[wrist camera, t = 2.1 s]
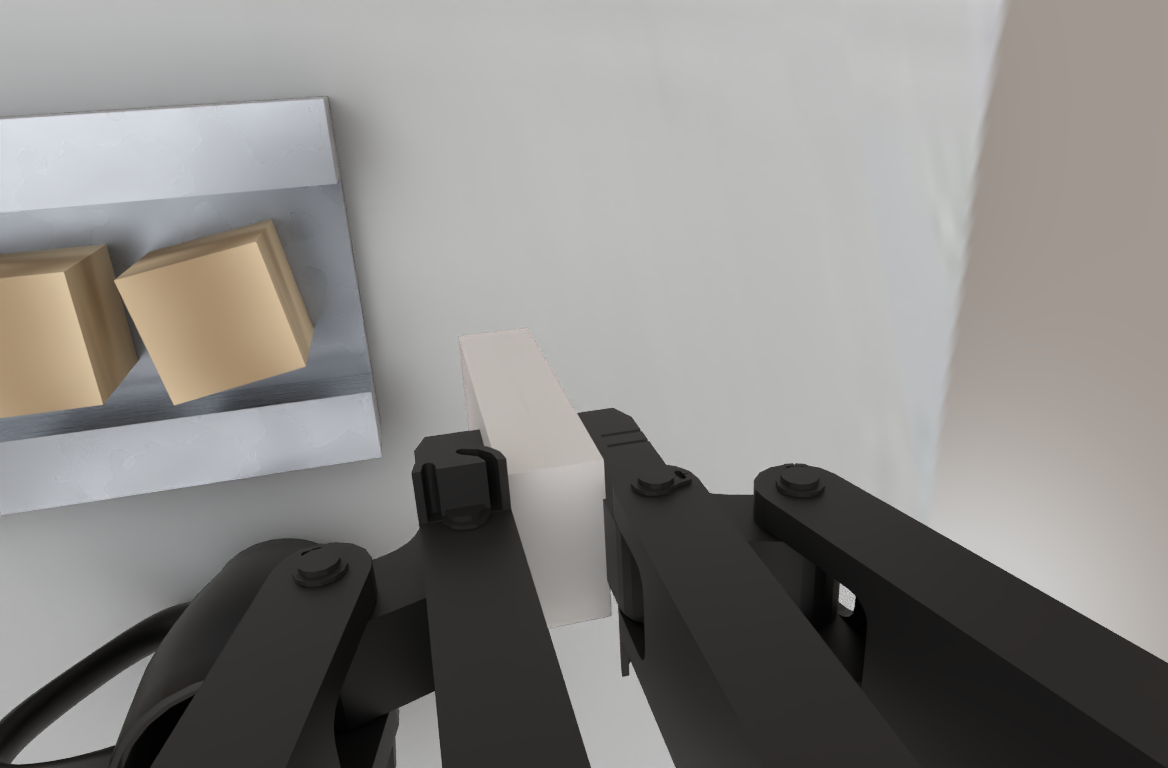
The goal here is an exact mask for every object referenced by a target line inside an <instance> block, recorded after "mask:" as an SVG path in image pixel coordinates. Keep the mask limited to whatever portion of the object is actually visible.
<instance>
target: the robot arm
mask: <svg viewBox="0 0 1168 768" xmlns="http://www.w3.org/2000/svg"><path fill="white" fill-rule="evenodd" d="M458 337H459V346H460V354H461V363H462V372H463V380H464V389H465V397H466V406H467V414H468V423H469V431H464V432H457V433H450V434H444V435H437V436H430V437H425V438H424V439H423V440H422V442H421V443H420V444H419V446H418V447H417V448H416V450H415V451H414V453H415V464H414V467H413V470H412V480H413V486H414V493H415V500H416V506H417V513H418V520H419V527H420V528H419V530H418V532H417V534H416V535H415V536H414V537H413V538H412V539H411V540H410V541H409V542H408V543H407V544H405V545H404V546H402V547H401V548H399V549H398V550H396V551H394V552H391V553H389V554H387V555H385V556H382V557H379V558H377V559H374V560H372V557H371V556H370V555H369V553H368V552H367V551H366V549H364V548H362V547H359V546H357V545H354V544H350V543H336V542H335V543H328V544H318V545H314V546H310V547H309V548H308V547H307V548H305V549H302V550H300V551H298V552H296V553H294V554H293V555H291V556H289V557H287V558H286V559H284V560H282V561H281V562H280V563H279V564H278V565H277V566H276V567H275V568H274V569H273V570H272V572H271V573H270V574H269V576H268V578H267V579H266V581H265V582H264V584H263V586H262V587H261V589H260V591H259V592H258V594H257V595H256V597H255V599H254V600H253V602H252V603H251V605H250V607H249V608H248V610H247V612H246V613H245V615H244V616H243V618H242V620H241V621H240V623H239V625H238V626H237V628H236V629H235V631H234V633H233V634H232V636H231V637H230V639H229V641H228V642H227V644H226V646H225V647H224V649H223V650H222V652H221V654H220V655H219V657H218V659H217V660H216V662H215V663H214V665H213V667H212V668H211V670H210V672H209V673H208V675H207V676H206V678H205V680H204V681H203V683H202V684H201V686H200V688H199V689H198V691H197V693H196V694H195V696H194V697H193V699H192V701H191V702H190V704H189V706H188V707H187V709H186V710H185V712H184V714H183V715H182V717H181V718H180V720H179V722H178V723H177V725H176V727H175V728H174V730H173V731H172V733H171V735H170V736H169V738H168V740H167V741H166V743H165V744H164V746H163V748H162V749H161V751H160V753H159V754H158V756H157V757H156V759H155V761H154V762H153V764H152V765H151V767H150V768H386V767H387V764H388V760H389V757H390V753H391V750H392V746H393V743H394V739H395V736H396V732H397V729H398V725H399V707H401V706H403V705H406V704H408V703H410V702H412V701H414V700H416V699H418V698H421V697H423V696H425V695H427V694H429V693H431V692H433V691H435V696H436V707H437V717H438V728H439V738H440V749H441V759H442V768H591V766H590V763H589V760H588V757H587V753H586V750H585V747H584V744H583V740H582V737H581V734H580V731H579V727H578V724H577V721H576V718H575V714H574V711H573V708H572V705H571V701H570V698H569V695H568V692H567V688H566V685H565V682H564V679H563V675H562V672H561V669H560V666H559V662H558V659H557V656H556V653H555V649H554V646H553V643H552V640H551V636H550V633H549V630H548V628H553V627H558V626H563V625H569V624H574V623H579V622H584V621H589V620H594V619H599V618H604V617H609V616H612V613H611V593H610V588H611V590H612V592H613V595H614V597H615V599H616V601H617V604H618V611H619V633H620V655H621V670H622V677H623V676H628V675H629V663H630V662H631V663H632V665H633V667H634V670H635V672H636V674H637V677H638V679H639V682H640V684H641V686H642V689H643V691H644V693H645V696H646V698H647V700H648V703H649V705H650V708H651V710H652V712H653V715H654V717H655V719H656V722H657V724H658V727H659V729H660V731H661V734H662V736H663V738H664V741H665V743H666V746H667V748H668V750H669V753H670V755H671V757H672V760H673V762H674V765H675V767H676V768H1168V663H1167V662H1165V661H1163V660H1162V659H1160V658H1158V657H1156V656H1154V655H1153V654H1151V653H1149V652H1147V651H1146V650H1144V649H1142V648H1140V647H1139V646H1137V645H1135V644H1133V643H1132V642H1130V641H1128V640H1126V639H1125V638H1123V637H1121V636H1119V635H1117V634H1116V633H1114V632H1112V631H1110V630H1109V629H1107V628H1105V627H1103V626H1102V625H1100V624H1098V623H1096V622H1094V621H1093V620H1091V619H1089V618H1088V617H1086V616H1084V615H1082V614H1080V613H1079V612H1077V611H1075V610H1073V609H1072V608H1070V607H1068V606H1066V605H1065V604H1063V603H1061V602H1059V601H1057V600H1056V599H1054V598H1052V597H1050V596H1049V595H1047V594H1045V593H1043V592H1042V591H1040V590H1038V589H1036V588H1034V587H1033V586H1031V585H1029V584H1027V583H1026V582H1024V581H1022V580H1021V579H1019V578H1017V577H1015V576H1013V575H1012V574H1010V573H1008V572H1007V571H1004V570H1003V569H1001V568H1000V567H998V566H996V565H994V564H992V563H991V562H989V561H987V560H985V559H983V558H982V557H980V556H978V555H977V554H975V553H973V552H971V551H970V550H968V549H966V548H964V547H963V546H961V545H959V544H957V543H955V542H954V541H952V540H950V539H948V538H947V537H945V536H943V535H941V534H940V533H938V532H936V531H934V530H933V529H931V528H929V527H927V526H926V525H924V524H922V523H920V522H918V521H917V520H915V519H913V518H911V517H910V516H908V515H906V514H904V513H903V512H901V511H899V510H897V509H896V508H894V507H892V506H890V505H889V504H887V503H885V502H883V501H882V500H880V499H878V498H876V497H874V496H873V495H871V494H869V493H867V492H866V491H864V490H862V489H860V488H859V487H857V486H855V485H853V484H852V483H850V482H848V481H846V480H845V479H843V478H841V477H839V476H837V475H836V474H834V473H831V472H829V471H827V470H824V469H822V468H818V467H813V466H808V465H806V464H798V463H795V465H794V464H793V463H792V464H784V465H781V466H775V467H770V468H768V469H766V470H764V471H762V472H760V473H759V474H758V476H757V477H756V478H755V480H754V495H724V494H712V493H709V492H708V490H707V489H706V488H705V486H704V485H703V484H702V483H701V481H700V480H699V479H698V478H697V477H696V476H695V475H694V474H692V473H691V472H690V471H688V470H685V469H682V468H679V467H676V466H670V465H666V464H665V463H664V461H663V460H662V458H661V457H660V456H659V454H658V453H657V452H656V450H655V449H654V447H653V446H652V445H651V443H650V442H649V441H647V438H646V436H645V435H644V434H643V432H642V431H640V428H639V427H638V425H637V424H636V423H635V421H634V420H633V418H632V417H630V416H628V415H626V414H624V413H622V412H620V411H618V410H616V409H614V408H608V409H602V410H595V411H588V412H581V413H577V412H576V411H575V409H574V407H573V406H572V404H571V402H570V400H569V399H568V397H567V395H566V393H565V392H564V390H563V388H562V386H561V385H560V383H559V381H558V380H557V378H556V376H555V374H554V373H553V371H552V369H551V367H550V366H549V364H548V362H547V360H546V359H545V357H544V355H543V353H542V352H541V350H540V348H539V347H538V345H537V343H536V341H535V340H534V338H533V336H532V334H531V333H530V331H529V329H528V328H521V329H513V330H505V331H496V332H488V333H480V334H472V335H464V336H458ZM840 583H841V584H842V585H844V586H845V587H846V588H848V589H849V590H850V591H851V592H852V593H853V594H854V595H855V596H856V599H855V608H854V611H851V610H849V609H847V608H846V607H845V606H843V605H842V604H841V603H839V602H838V599H839V586H840Z"/></svg>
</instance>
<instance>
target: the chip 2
mask: <svg viewBox="0 0 1168 768" xmlns="http://www.w3.org/2000/svg"><path fill="white" fill-rule="evenodd" d="M114 282H115V284H116V286H117V288H118V290H119V292H120V294H121V296H122V299H123V301H124V303H125V305H126V307H127V309H128V311H129V313H130V315H131V317H132V319H133V321H134V323H135V326H136V328H137V330H138V332H139V334H140V336H141V338H142V340H143V342H144V344H145V346H146V348H147V350H148V353H149V355H150V357H151V359H152V361H153V363H154V365H155V367H156V369H157V371H158V373H159V375H160V377H161V380H162V382H163V384H164V386H165V388H166V390H167V392H168V394H169V396H170V398H171V400H172V402H173V404H174V405H177V404H181V403H184V402H188V401H191V400H194V399H198V398H201V397H204V396H208V395H211V394H215V393H218V392H221V391H225V390H228V389H232V388H235V387H238V386H242V385H245V384H248V383H252V382H255V381H259V380H262V379H265V378H269V377H272V376H275V375H279V374H282V373H286V372H289V371H292V370H296V369H299V368H302V367H306V364H307V359H308V354H309V350H310V345H311V341H312V336H313V331H314V328H313V325H312V323H311V320H310V318H309V315H308V312H307V310H306V307H305V305H304V302H303V299H302V297H301V294H300V292H299V289H298V287H297V284H296V281H295V279H294V276H293V274H292V271H291V268H290V266H289V263H288V261H287V258H286V256H285V253H284V250H283V248H282V245H281V243H280V240H279V237H278V235H277V232H276V230H275V227H274V224H273V222H272V219H269V220H265V221H262V222H258V223H254V224H250V225H247V226H243V227H239V228H236V229H232V230H228V231H225V232H221V233H217V234H213V235H210V236H206V237H202V238H199V239H195V240H191V241H187V242H184V243H180V244H176V245H173V246H169V247H165V248H162V249H158V250H154V251H150V252H148V253H147V254H146V255H144V256H143V257H142V258H141V259H140V260H138V261H137V262H136V263H135V264H133V265H132V266H131V267H130V268H129V269H127V270H126V271H125V272H124V273H122V274H121V275H120V276H119V277H118V278H116V279H115V280H114Z"/></svg>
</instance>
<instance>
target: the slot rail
mask: <svg viewBox="0 0 1168 768" xmlns="http://www.w3.org/2000/svg"><path fill="white" fill-rule="evenodd" d="M269 219H272V222H273V224H274V227H275V230H276V232H277V235H278V237H279V240H280V243H281V245H282V248H283V250H284V253H285V256H286V258H287V261H288V263H289V266H290V268H291V271H292V274H293V276H294V279H295V281H296V284H297V287H298V289H299V292H300V294H301V297H302V299H303V302H304V305H305V307H306V310H307V312H308V315H309V318H310V320H311V323H312V325H313V328H314V331H313V336H312V341H311V345H310V350H309V354H308V359H307V364H306V367H302V368H299V369H296V370H292V371H289V372H286V373H282V374H279V375H275V376H272V377H269V378H265V379H262V380H259V381H255V382H252V383H248V384H245V385H242V386H238V387H235V388H232V389H228V390H225V391H221V392H218V393H215V394H211V395H208V396H204V397H201V398H198V399H194V400H191V401H188V402H184V403H181V404H177V405H174V404H173V402H172V400H171V398H170V396H169V394H168V392H167V390H166V388H165V386H164V384H163V382H162V380H161V377H160V375H159V373H158V371H157V369H156V367H155V365H154V363H153V361H152V359H151V357H150V355H149V353H148V350H147V348H146V346H145V344H144V342H143V340H142V338H141V336H140V334H139V332H138V330H137V328H136V326H135V323H134V321H133V319H132V317H131V315H130V313H129V311H128V309H127V307H126V305H125V303H124V301H123V299H122V296H121V294H120V296H121V300H122V304H123V307H124V311H125V315H126V318H127V322H128V326H129V329H130V333H131V336H132V340H133V344H134V347H135V351H136V355H137V358H138V362H137V363H136V364H135V366H134V367H133V368H132V369H131V371H130V372H129V373H128V374H127V376H126V377H125V378H124V379H123V381H122V382H121V383H120V384H119V386H118V387H117V388H116V389H115V391H114V392H113V393H112V394H111V396H110V397H109V398H108V399H107V401H106V402H105V403H104V404H103V405H97V406H90V407H82V408H74V409H67V410H59V411H52V412H44V413H36V414H29V415H21V416H13V417H6V418H0V515H7V514H13V513H20V512H26V511H33V510H40V509H46V508H53V507H59V506H66V505H72V504H79V503H85V502H92V501H99V500H105V499H112V498H118V497H125V496H131V495H138V494H144V493H151V492H158V491H164V490H171V489H177V488H184V487H190V486H197V485H203V484H210V483H216V482H223V481H230V480H236V479H243V478H249V477H256V476H262V475H269V474H275V473H282V472H289V471H295V470H302V469H308V468H315V467H321V466H328V465H334V464H341V463H348V462H354V461H361V460H367V459H374V458H380V457H382V451H381V423H380V417H379V411H378V404H377V398H376V392H375V386H374V380H373V373H372V367H371V361H370V355H369V349H368V342H367V336H366V330H365V324H364V318H363V311H362V305H361V299H360V293H359V287H358V280H357V274H356V268H355V262H354V256H353V249H352V243H351V237H350V231H349V225H348V219H347V212H346V206H345V200H344V194H343V188H342V181H341V175H340V169H339V163H338V157H337V150H336V144H335V138H334V132H333V126H332V119H331V113H330V107H329V101H328V96H321V97H305V98H290V99H274V100H258V101H243V102H227V103H211V104H195V105H180V106H164V107H148V108H133V109H117V110H101V111H86V112H70V113H54V114H39V115H23V116H7V117H0V254H7V253H18V252H28V251H39V250H50V249H60V248H71V247H81V246H92V245H103V244H106V245H107V249H108V253H109V256H110V260H111V264H112V267H113V271H114V274H115V278H118V277H119V276H120V275H121V274H122V273H124V272H125V271H126V270H127V269H129V268H130V267H131V266H132V265H133V264H135V263H136V262H137V261H138V260H140V259H141V258H142V257H143V256H144V255H146V254H147V253H148V252H150V251H154V250H158V249H162V248H165V247H169V246H173V245H176V244H180V243H184V242H187V241H191V240H195V239H199V238H202V237H206V236H210V235H213V234H217V233H221V232H225V231H228V230H232V229H236V228H239V227H243V226H247V225H250V224H254V223H258V222H262V221H265V220H269ZM119 293H120V292H119Z"/></svg>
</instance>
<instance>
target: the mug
mask: <svg viewBox="0 0 1168 768" xmlns="http://www.w3.org/2000/svg"><path fill="white" fill-rule="evenodd" d="M314 545H318V544H316V543H313V542H309V541H306V540H299V539H278V540H270V541H267V542H263V543H260V544H256V545H254V546H252V547H250V548H248V549H246V550H244V551H242V552H240V553H239V554H238V555H236V556H235V557H234V558H233V559H232V560H230V561H229V562H228V563H227V564H226V566H225V567H224V568H223V570H222V571H221V572H220V573H219V574H218V575H217V576H216V577H215V578H214V579H213V580H212V581H211V582H210V583H209V584H208V585H207V586H206V587H205V588H204V589H203V590H202V591H201V592H200V593H199V594H198V595H197V596H196V597H195V599H194V600H193V601H192V602H189V603H184V604H179V605H176V606H173V607H170V608H167V609H165V610H163V611H160V612H158V613H156V614H154V615H152V616H150V617H148V618H147V619H145V620H143V621H141V622H140V623H138V624H136V625H135V626H133V627H131V628H130V629H128V630H127V631H125V632H123V633H122V634H120V635H119V636H117V637H116V638H114V639H113V640H111V641H110V642H108V643H107V644H105V645H104V646H102V647H101V648H99V649H98V650H96V651H95V652H93V653H92V654H90V655H89V656H87V657H86V658H84V659H83V660H81V661H80V662H78V663H77V664H75V665H74V666H73V667H71V668H70V669H68V670H67V671H65V672H64V673H62V674H61V675H59V676H58V677H57V678H55V679H54V680H52V681H51V682H49V683H48V684H46V685H45V686H44V687H42V688H41V689H39V690H38V691H37V692H35V693H34V694H32V695H31V696H30V697H28V698H27V699H26V700H24V701H23V702H22V703H21V704H19V705H18V706H17V707H16V708H14V709H13V710H12V711H11V712H10V713H8V714H7V715H6V716H5V717H4V718H3V719H2V720H1V721H0V768H150V767H151V765H152V764H153V762H154V761H155V759H156V757H157V756H158V754H159V753H160V751H161V749H162V748H163V746H164V744H165V743H166V741H167V740H168V738H169V736H170V735H171V733H172V731H173V730H174V728H175V727H176V725H177V723H178V722H179V720H180V718H181V717H182V715H183V714H184V712H185V710H186V709H187V707H188V706H189V704H190V702H191V701H192V699H193V697H194V696H195V694H196V693H197V691H198V689H199V688H200V686H201V684H202V683H203V681H204V680H205V678H206V676H207V675H208V673H209V672H210V670H211V668H212V667H213V665H214V663H215V662H216V660H217V659H218V657H219V655H220V654H221V652H222V650H223V649H224V647H225V646H226V644H227V642H228V641H229V639H230V637H231V636H232V634H233V633H234V631H235V629H236V628H237V626H238V625H239V623H240V621H241V620H242V618H243V616H244V615H245V613H246V612H247V610H248V608H249V607H250V605H251V603H252V602H253V600H254V599H255V597H256V595H257V594H258V592H259V591H260V589H261V587H262V586H263V584H264V582H265V581H266V579H267V578H268V576H269V574H270V573H271V572H272V570H273V569H274V568H275V567H276V566H277V565H278V564H279V563H280V562H281V561H282V560H284V559H286V558H287V557H289V556H291V555H293V554H294V553H296V552H298V551H300V550H302V549H305V548H307V547H308V548H309V547H310V546H314ZM154 652H155V654H154V655H153V657H152V659H151V661H150V662H149V664H148V666H147V668H146V670H145V672H144V675H143V677H142V679H141V682H140V684H139V687H138V689H137V692H136V694H135V697H134V699H133V702H132V704H131V707H130V709H129V711H128V714H127V717H126V719H125V722H124V724H123V727H122V730H121V732H120V735H119V738H118V740H117V743H116V745H115V746H111V747H108V748H105V749H101V750H98V751H94V752H91V753H87V754H83V755H79V756H75V757H71V758H66V759H61V760H56V761H50V762H42V763H34V764H21V765H16V764H11V762H12V761H13V759H14V758H15V757H16V756H17V755H18V754H19V753H20V752H21V751H22V750H23V748H24V747H25V746H27V745H28V744H29V743H30V742H31V741H32V740H33V739H34V738H35V737H36V736H37V735H39V734H40V733H41V732H42V731H43V730H44V729H46V728H47V727H48V726H49V725H50V724H52V723H53V722H54V721H55V720H57V719H58V718H59V717H60V716H62V715H63V714H64V713H65V712H67V711H68V710H69V709H71V708H72V707H73V706H75V705H76V704H77V703H79V702H80V701H81V700H83V699H84V698H85V697H87V696H88V695H89V694H91V693H92V692H93V691H95V690H96V689H98V688H99V687H100V686H102V685H103V684H105V683H106V682H107V681H109V680H110V679H112V678H113V677H115V676H116V675H118V674H119V673H120V672H122V671H123V670H125V669H127V668H128V667H130V666H131V665H133V664H134V663H136V662H138V661H139V660H141V659H143V658H145V657H146V656H148V655H150V654H152V653H154ZM386 768H396V743H395V739H394V743H393V746H392V750H391V753H390V757H389V760H388V764H387V767H386Z"/></svg>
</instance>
